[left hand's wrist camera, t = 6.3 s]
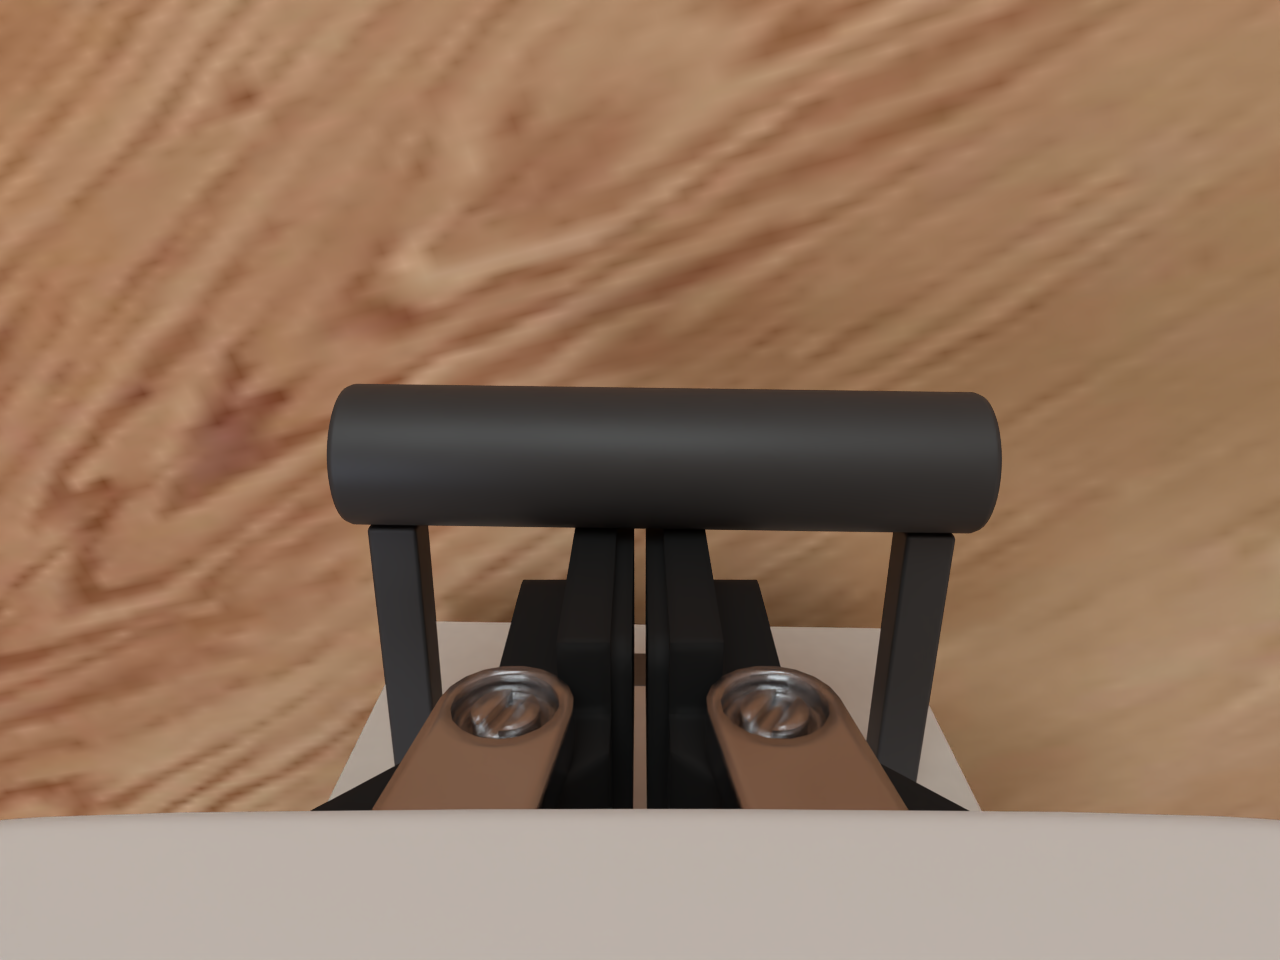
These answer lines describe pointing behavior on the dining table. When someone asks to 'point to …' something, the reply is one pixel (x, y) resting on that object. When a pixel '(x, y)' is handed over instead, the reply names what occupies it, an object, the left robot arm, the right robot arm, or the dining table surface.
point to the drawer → (668, 524)
